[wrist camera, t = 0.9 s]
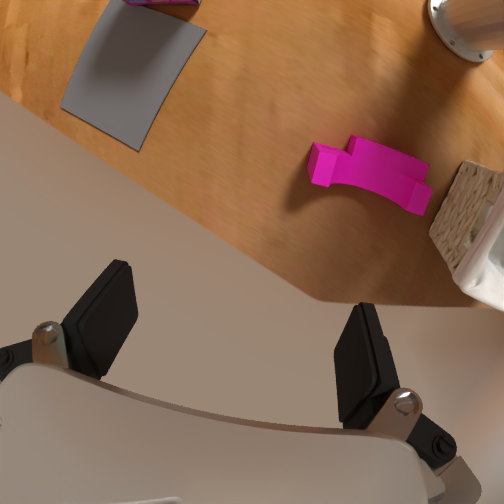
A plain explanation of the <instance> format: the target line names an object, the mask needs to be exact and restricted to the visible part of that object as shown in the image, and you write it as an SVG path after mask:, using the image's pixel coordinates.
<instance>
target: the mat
mask: <svg viewBox="0 0 504 504" xmlns="http://www.w3.org/2000/svg"><path fill="white" fill-rule="evenodd" d="M206 32H207V30H205V29H203V28H200V27H198V26H196V25H193V24H191V23H188V22H186V21H183V20H180V19H178V18H175V17H172V16H170V15H167V14H164V13H161V12H158V11H155V10H152V9H149V8H146V7H143V6H130V5H129V4H127V3H126V2H124V1H121V0H110V2H109V3H108V5H107V6H106V8H105V10H104V11H103V13H102V15H101V17H100V18H99V20H98V22H97V24H96V26H95V27H94V29H93V31H92V33H91V35H90V37H89V39H88V41H87V43H86V45H85V47H84V49H83V51H82V53H81V55H80V58H79V60H78V62H77V64H76V66H75V69H74V71H73V74H72V76H71V78H70V81H69V83H68V86H67V89H66V91H65V94H64V97H63V100H62V102H61V105H60V107H61V108H63V109H65V110H66V111H68V112H70V113H72V114H74V115H76V116H77V117H79V118H81V119H83V120H85V121H86V122H88V123H90V124H92V125H94V126H95V127H97V128H99V129H101V130H102V131H104V132H106V133H108V134H109V135H111V136H113V137H115V138H116V139H118V140H120V141H122V142H123V143H125V144H127V145H129V146H130V147H132V148H134V149H136V150H137V151H140V149H141V146H142V144H143V142H144V140H145V138H146V136H147V134H148V132H149V129H150V127H151V125H152V123H153V121H154V119H155V117H156V115H157V114H158V112H159V110H160V108H161V106H162V104H163V102H164V100H165V98H166V97H167V95H168V93H169V91H170V89H171V88H172V86H173V84H174V82H175V81H176V79H177V77H178V75H179V74H180V72H181V70H182V69H183V67H184V65H185V64H186V62H187V61H188V59H189V57H190V56H191V54H192V53H193V51H194V50H195V48H196V47H197V45H198V44H199V42H200V41H201V39H202V38H203V36H204V35H205V33H206Z"/></svg>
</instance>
